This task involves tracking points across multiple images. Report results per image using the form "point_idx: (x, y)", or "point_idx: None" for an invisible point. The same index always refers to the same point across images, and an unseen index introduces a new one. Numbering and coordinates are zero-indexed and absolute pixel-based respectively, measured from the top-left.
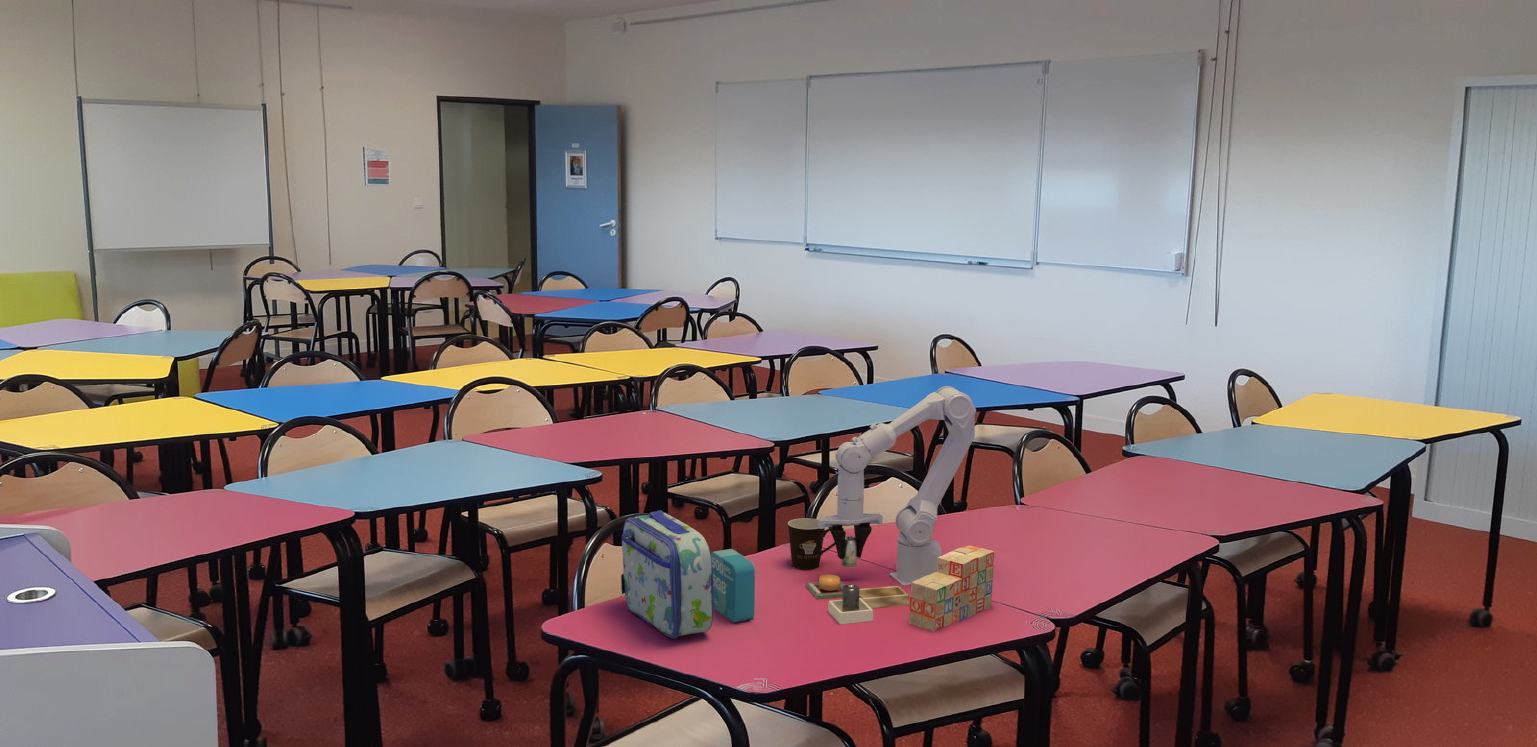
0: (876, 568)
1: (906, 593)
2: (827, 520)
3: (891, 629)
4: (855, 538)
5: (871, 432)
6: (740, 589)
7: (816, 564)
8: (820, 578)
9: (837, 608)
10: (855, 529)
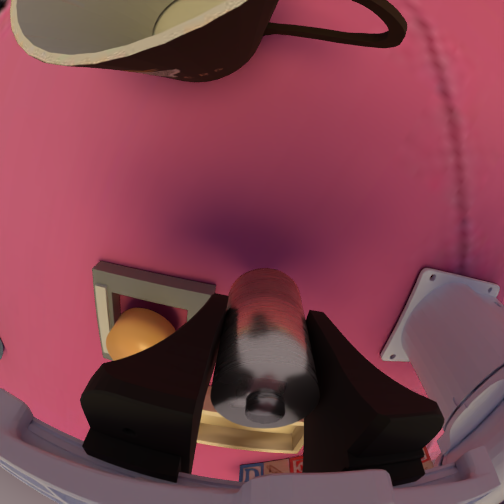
0: (434, 188)
1: (298, 448)
2: (45, 493)
3: (205, 462)
4: (301, 409)
5: None
6: None
7: (219, 76)
8: (108, 344)
9: None
10: (348, 414)
